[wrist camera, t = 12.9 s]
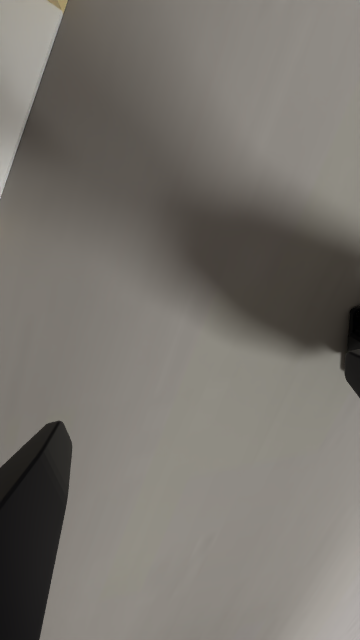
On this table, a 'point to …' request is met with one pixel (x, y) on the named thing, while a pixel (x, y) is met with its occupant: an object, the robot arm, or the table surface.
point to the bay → (22, 66)
